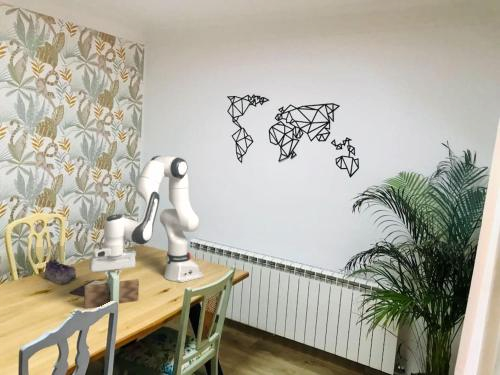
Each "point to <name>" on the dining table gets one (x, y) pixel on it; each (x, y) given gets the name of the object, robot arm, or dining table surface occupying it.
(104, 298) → the walnut board
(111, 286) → the sage plate
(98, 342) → the dining table surface
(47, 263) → the geode
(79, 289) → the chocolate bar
